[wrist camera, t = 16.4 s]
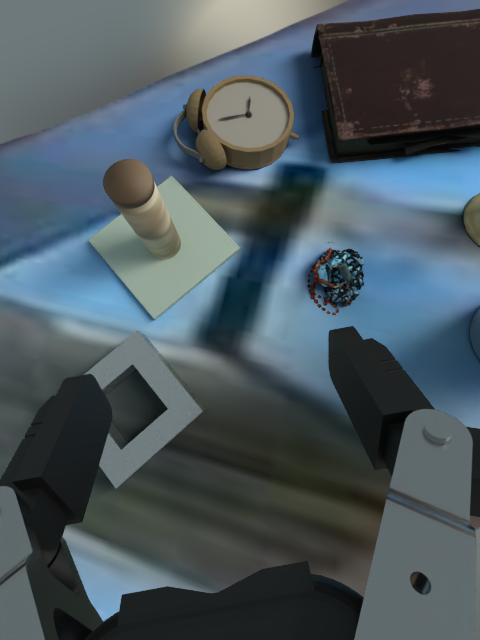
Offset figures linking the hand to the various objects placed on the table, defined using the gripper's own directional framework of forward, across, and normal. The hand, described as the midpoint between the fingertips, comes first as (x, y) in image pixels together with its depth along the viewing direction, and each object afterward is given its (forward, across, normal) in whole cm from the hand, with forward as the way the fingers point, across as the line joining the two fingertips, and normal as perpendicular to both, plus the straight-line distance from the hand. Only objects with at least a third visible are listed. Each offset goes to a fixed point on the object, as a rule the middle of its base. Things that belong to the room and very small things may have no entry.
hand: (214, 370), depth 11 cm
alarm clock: (+40, -5, -4) cm, 40 cm away
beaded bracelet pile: (+25, -13, +11) cm, 30 cm away
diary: (+41, -29, -4) cm, 51 cm away
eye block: (+17, +12, +18) cm, 27 cm away
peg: (+29, +6, +5) cm, 30 cm away
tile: (+30, +6, +5) cm, 31 cm away
